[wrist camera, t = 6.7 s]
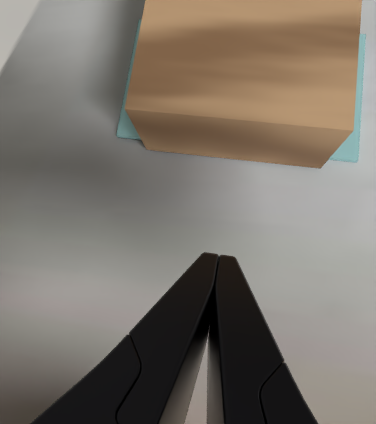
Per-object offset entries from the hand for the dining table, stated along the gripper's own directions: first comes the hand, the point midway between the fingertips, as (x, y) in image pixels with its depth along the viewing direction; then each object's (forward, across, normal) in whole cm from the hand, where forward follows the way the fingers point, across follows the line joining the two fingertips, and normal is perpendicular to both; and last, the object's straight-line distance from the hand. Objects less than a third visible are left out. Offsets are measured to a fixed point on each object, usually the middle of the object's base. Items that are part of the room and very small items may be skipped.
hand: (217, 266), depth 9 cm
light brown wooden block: (+10, 0, +1) cm, 10 cm away
